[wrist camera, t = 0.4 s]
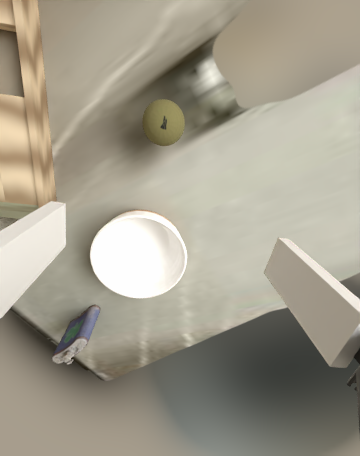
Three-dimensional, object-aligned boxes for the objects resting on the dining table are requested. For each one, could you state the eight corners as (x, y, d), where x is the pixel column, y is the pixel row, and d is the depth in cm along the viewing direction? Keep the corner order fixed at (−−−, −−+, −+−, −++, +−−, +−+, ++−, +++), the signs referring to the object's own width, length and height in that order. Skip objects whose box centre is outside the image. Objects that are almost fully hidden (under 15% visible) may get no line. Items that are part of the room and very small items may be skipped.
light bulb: (184, 140, 36) (190, 141, 27) (151, 147, 37) (147, 151, 27) (177, 102, 34) (181, 90, 25) (142, 110, 34) (134, 101, 25)
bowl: (89, 252, 44) (74, 276, 36) (124, 184, 39) (115, 196, 32) (158, 284, 48) (157, 311, 40) (198, 226, 43) (205, 244, 36)
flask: (94, 302, 49) (76, 345, 39) (104, 310, 50) (89, 353, 40) (67, 323, 50) (43, 369, 41) (77, 330, 51) (56, 376, 42)
